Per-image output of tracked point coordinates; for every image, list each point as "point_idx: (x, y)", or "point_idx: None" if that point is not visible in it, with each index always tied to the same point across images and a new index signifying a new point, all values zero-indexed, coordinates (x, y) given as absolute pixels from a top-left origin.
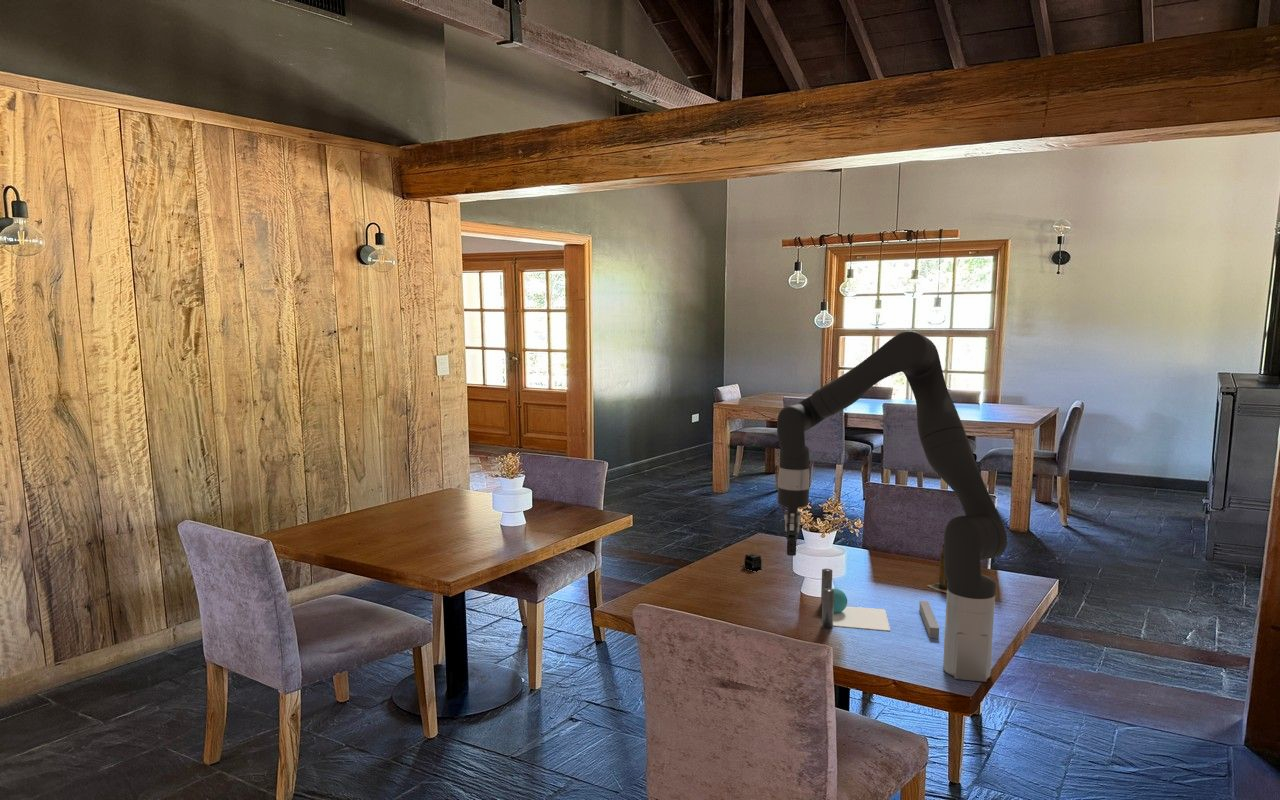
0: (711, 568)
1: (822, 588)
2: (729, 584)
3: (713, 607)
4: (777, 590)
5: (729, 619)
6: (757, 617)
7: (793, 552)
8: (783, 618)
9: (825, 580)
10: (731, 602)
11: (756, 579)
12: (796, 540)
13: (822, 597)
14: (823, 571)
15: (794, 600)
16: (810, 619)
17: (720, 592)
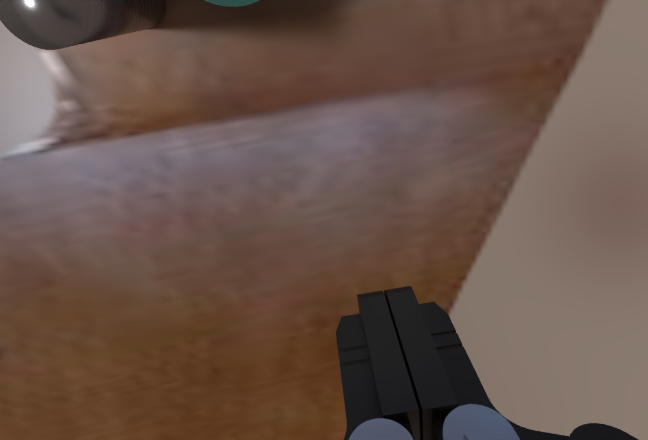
0: (39, 433)
1: (130, 26)
2: (148, 366)
3: None
4: (100, 233)
5: (451, 294)
6: (412, 232)
7: (445, 318)
8: (395, 152)
9: (113, 8)
10: (306, 324)
11: (34, 317)
12: (501, 416)
13: (150, 20)
14: (80, 32)
15: (174, 152)
16: (372, 44)
17: (235, 366)
